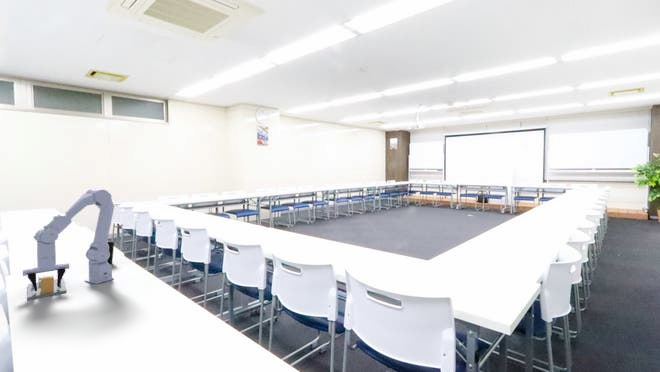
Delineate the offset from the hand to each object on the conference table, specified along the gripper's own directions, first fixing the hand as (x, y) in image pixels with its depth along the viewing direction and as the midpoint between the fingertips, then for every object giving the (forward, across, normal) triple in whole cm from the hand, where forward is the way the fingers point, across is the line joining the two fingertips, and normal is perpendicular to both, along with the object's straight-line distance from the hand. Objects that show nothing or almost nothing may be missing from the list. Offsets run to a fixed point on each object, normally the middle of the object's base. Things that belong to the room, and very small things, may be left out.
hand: (47, 288), depth 130 cm
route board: (+2, 0, -6) cm, 7 cm away
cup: (+2, -26, -35) cm, 43 cm away
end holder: (+1, 0, -13) cm, 13 cm away
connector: (+1, 0, 0) cm, 1 cm away
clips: (+2, 0, -6) cm, 7 cm away
